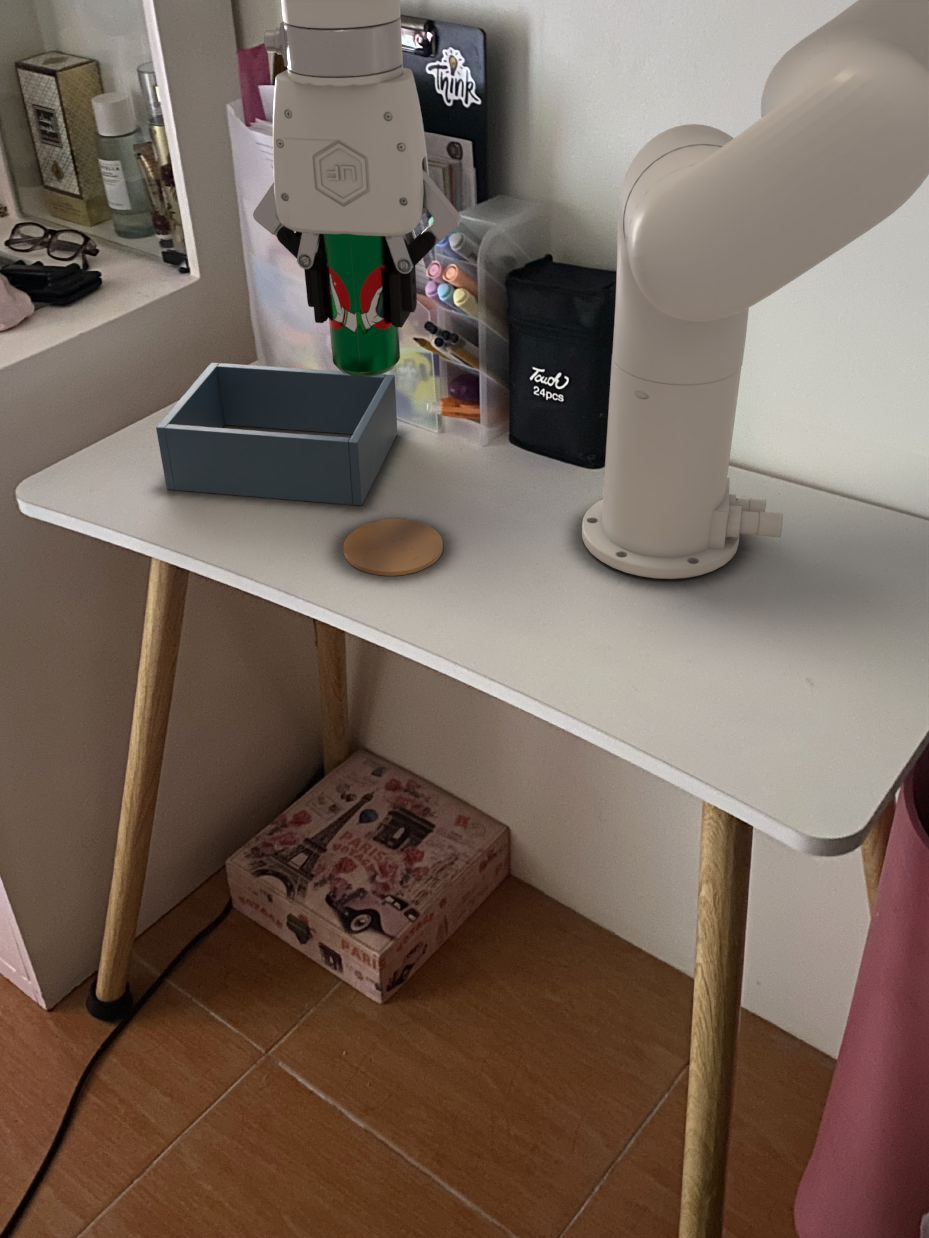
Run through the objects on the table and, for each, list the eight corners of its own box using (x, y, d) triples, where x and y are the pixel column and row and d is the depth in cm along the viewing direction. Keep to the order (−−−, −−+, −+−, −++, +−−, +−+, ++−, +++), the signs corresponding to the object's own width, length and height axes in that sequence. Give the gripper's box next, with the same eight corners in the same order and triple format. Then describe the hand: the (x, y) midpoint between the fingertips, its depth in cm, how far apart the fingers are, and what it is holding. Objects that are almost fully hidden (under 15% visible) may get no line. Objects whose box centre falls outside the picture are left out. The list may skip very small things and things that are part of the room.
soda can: (405, 353, 94) (396, 194, 87) (394, 380, 90) (385, 216, 83) (340, 351, 94) (326, 193, 87) (327, 379, 90) (311, 215, 83)
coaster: (451, 527, 101) (451, 523, 101) (431, 580, 95) (431, 576, 94) (357, 519, 102) (357, 515, 102) (332, 570, 96) (331, 566, 96)
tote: (397, 433, 115) (394, 374, 111) (361, 506, 104) (357, 442, 101) (219, 420, 118) (211, 362, 114) (166, 489, 107) (155, 427, 103)
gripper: (198, 60, 78) (235, 332, 88) (462, 65, 75) (467, 345, 85) (238, 37, 84) (268, 294, 94) (483, 41, 81) (486, 305, 91)
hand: (363, 316), depth 90 cm, fingers closed on soda can, 5 cm apart
